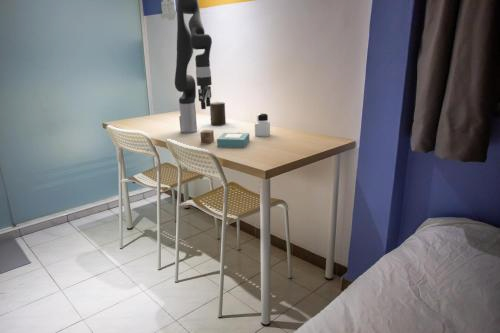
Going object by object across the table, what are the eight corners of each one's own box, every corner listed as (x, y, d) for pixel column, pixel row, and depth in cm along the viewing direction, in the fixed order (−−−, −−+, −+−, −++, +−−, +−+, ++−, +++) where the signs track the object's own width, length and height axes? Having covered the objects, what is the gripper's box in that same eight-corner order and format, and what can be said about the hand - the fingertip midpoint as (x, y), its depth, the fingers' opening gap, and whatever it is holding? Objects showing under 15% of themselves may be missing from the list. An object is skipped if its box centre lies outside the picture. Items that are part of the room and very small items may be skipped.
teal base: (217, 146, 190) (216, 138, 189) (224, 139, 203) (224, 132, 202) (244, 147, 188) (243, 139, 186) (249, 140, 201) (249, 132, 199)
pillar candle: (223, 125, 239) (222, 102, 234) (208, 125, 241) (207, 102, 236) (227, 122, 248) (226, 100, 243) (213, 122, 250) (212, 100, 245)
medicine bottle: (270, 133, 214) (269, 113, 210) (267, 136, 207) (266, 115, 204) (258, 133, 216) (257, 112, 212) (254, 136, 209) (254, 115, 206)
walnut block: (201, 143, 198) (200, 132, 196) (204, 140, 203) (203, 130, 201) (211, 143, 197) (210, 132, 195) (214, 140, 202) (213, 130, 200)
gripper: (200, 75, 197) (203, 105, 202) (192, 77, 183) (194, 110, 188) (214, 74, 195) (216, 105, 200) (206, 77, 182) (209, 110, 187)
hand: (206, 107), depth 194 cm, fingers open, 8 cm apart
